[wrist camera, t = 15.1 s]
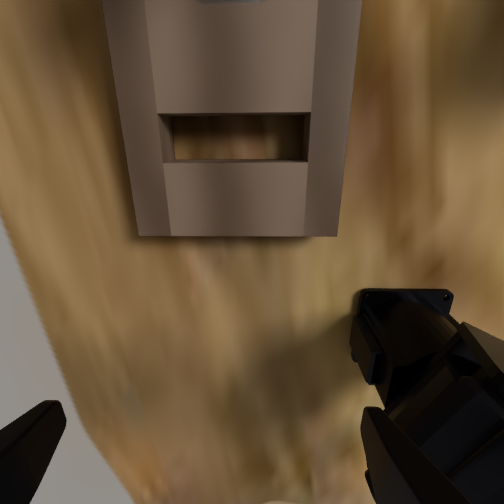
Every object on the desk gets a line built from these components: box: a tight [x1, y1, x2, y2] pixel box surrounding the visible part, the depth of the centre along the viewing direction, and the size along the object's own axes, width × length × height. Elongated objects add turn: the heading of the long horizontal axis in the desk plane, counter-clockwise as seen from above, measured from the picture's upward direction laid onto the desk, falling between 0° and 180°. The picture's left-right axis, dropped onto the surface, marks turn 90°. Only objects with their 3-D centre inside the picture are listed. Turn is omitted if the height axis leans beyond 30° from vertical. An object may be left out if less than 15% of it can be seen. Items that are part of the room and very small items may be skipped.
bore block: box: [102, 0, 362, 237], centre depth 15 cm, size 12×22×2 cm, turn 0°
